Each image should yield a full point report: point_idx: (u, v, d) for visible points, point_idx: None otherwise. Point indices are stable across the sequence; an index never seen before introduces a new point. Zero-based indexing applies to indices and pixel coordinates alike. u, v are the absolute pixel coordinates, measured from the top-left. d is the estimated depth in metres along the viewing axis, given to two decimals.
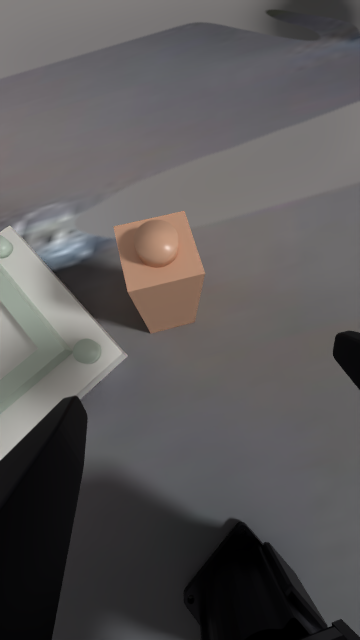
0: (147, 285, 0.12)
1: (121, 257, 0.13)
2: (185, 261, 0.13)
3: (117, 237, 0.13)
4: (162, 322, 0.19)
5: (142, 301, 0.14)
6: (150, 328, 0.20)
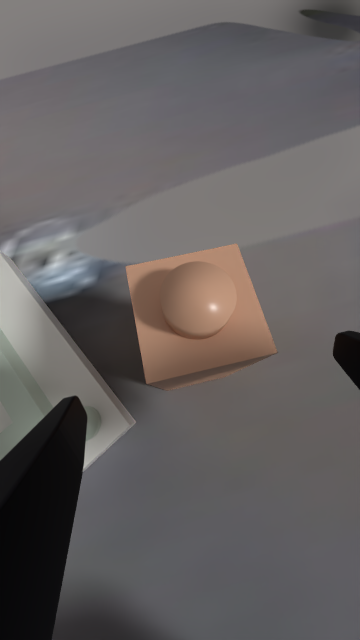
0: (180, 372, 0.07)
1: (137, 319, 0.08)
2: (243, 329, 0.08)
3: (131, 284, 0.08)
4: (186, 384, 0.14)
5: (166, 383, 0.09)
6: (168, 389, 0.15)
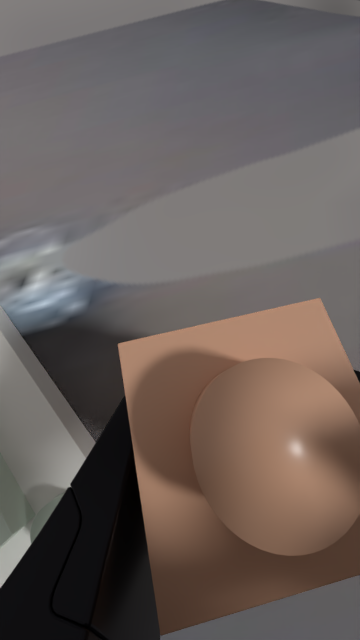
0: (235, 602, 0.03)
1: (139, 462, 0.04)
2: None
3: (128, 382, 0.04)
4: None
5: None
6: None
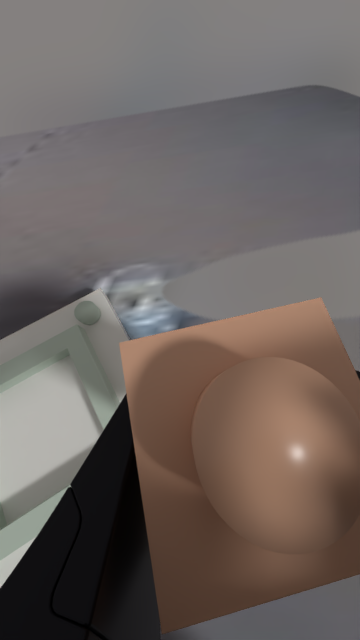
0: (236, 601, 0.03)
1: (140, 461, 0.04)
2: None
3: (129, 382, 0.04)
4: None
5: None
6: None
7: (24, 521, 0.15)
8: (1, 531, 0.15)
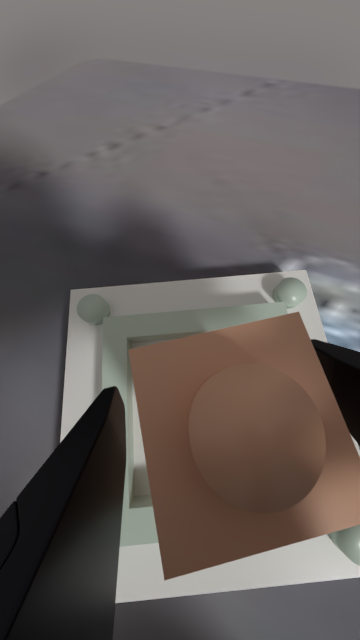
0: (223, 555, 0.04)
1: (147, 447, 0.05)
2: (322, 470, 0.05)
3: (137, 382, 0.05)
4: None
5: None
6: None
7: None
8: (143, 509, 0.12)
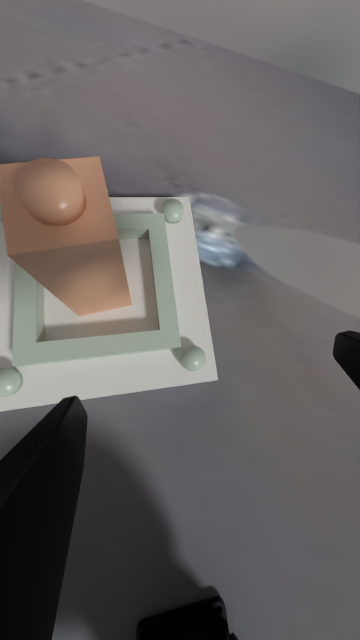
0: (38, 248, 0.09)
1: (3, 207, 0.09)
2: (94, 221, 0.10)
3: None
4: (88, 303, 0.16)
5: (41, 272, 0.11)
6: (75, 310, 0.17)
7: (68, 343, 0.17)
8: (46, 342, 0.16)
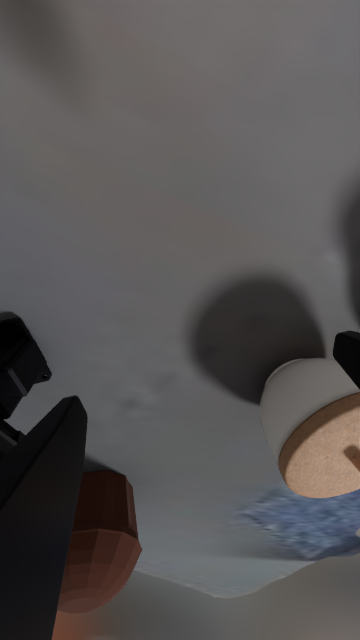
0: None
1: None
2: None
3: None
4: None
5: None
6: None
7: None
8: None
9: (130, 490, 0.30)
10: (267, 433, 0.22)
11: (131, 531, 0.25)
